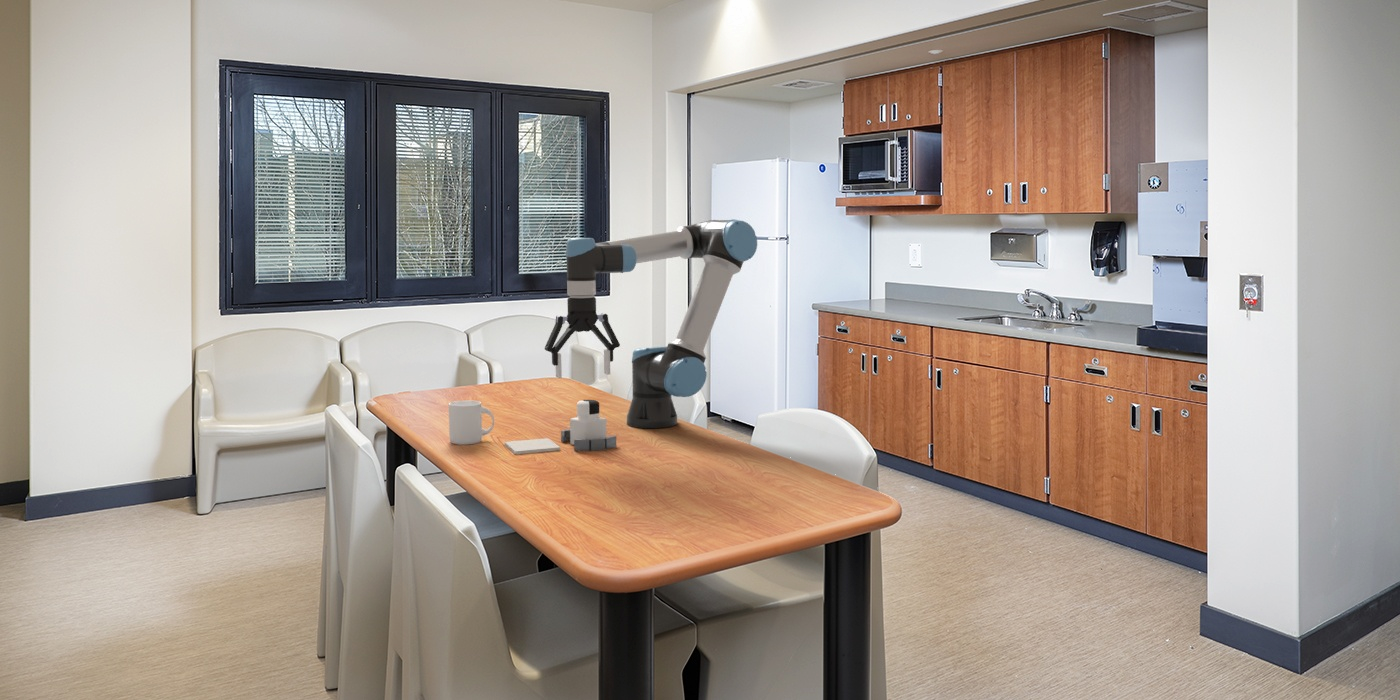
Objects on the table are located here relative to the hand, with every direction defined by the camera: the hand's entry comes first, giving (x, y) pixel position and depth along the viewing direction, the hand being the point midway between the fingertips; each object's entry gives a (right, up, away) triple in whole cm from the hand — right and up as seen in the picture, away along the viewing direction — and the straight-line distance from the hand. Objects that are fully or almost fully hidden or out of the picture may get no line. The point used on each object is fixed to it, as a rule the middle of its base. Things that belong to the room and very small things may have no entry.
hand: (583, 375), depth 258 cm
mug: (-31, -18, +5) cm, 36 cm away
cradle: (+1, -19, +2) cm, 19 cm away
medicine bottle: (+1, -19, +2) cm, 19 cm away
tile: (-13, -19, -2) cm, 23 cm away
